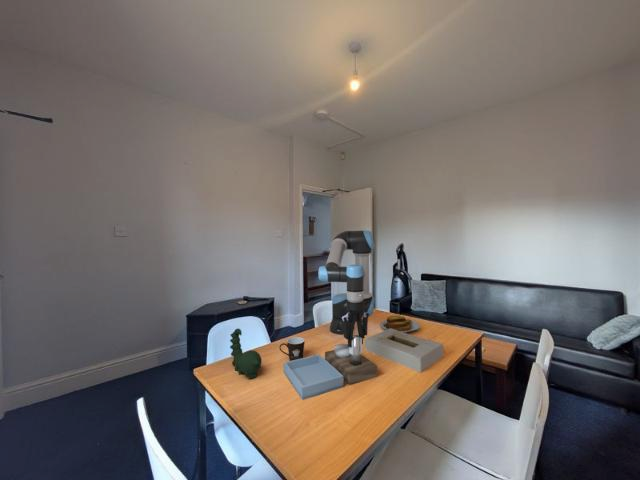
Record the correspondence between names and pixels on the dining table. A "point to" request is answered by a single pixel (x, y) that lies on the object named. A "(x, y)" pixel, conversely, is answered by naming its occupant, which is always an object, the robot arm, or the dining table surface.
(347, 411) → the dining table surface
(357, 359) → the lock pin
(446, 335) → the dining table surface
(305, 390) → the tray
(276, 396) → the dining table surface
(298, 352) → the coffee mug
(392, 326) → the food on plate
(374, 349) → the slotted block
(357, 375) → the block
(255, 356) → the toy figurine
